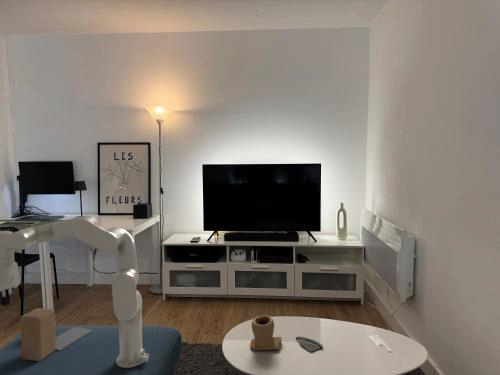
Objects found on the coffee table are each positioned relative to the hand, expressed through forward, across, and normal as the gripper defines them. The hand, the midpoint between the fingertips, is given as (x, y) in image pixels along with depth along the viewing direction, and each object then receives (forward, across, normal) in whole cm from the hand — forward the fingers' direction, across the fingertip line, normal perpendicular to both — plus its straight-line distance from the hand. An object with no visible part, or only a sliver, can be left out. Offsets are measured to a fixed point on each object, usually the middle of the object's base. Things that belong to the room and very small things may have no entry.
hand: (5, 304), depth 140 cm
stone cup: (+29, +53, -97) cm, 114 cm away
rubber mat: (+29, +30, 0) cm, 42 cm away
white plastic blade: (+29, +74, -148) cm, 168 cm away
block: (+29, +14, 0) cm, 32 cm away
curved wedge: (+30, +62, -116) cm, 135 cm away
